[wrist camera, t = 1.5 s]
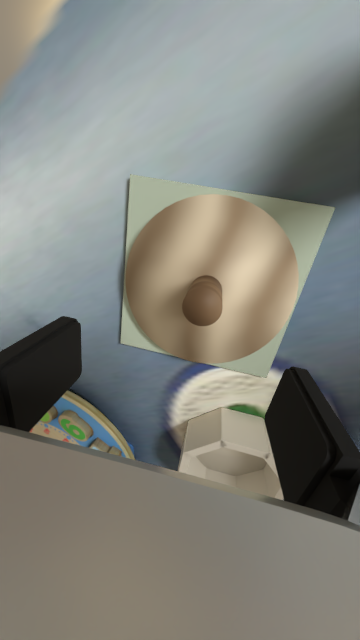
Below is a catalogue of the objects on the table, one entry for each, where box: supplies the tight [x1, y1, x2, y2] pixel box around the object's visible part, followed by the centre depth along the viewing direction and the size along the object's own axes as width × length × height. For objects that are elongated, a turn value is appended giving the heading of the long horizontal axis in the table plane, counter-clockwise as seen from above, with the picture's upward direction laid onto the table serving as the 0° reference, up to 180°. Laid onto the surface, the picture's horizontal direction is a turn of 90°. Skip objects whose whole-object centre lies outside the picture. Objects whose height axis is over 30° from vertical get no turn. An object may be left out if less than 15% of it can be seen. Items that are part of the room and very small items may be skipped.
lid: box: [125, 194, 299, 364], centre depth 20 cm, size 17×17×6 cm
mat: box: [121, 174, 335, 378], centre depth 23 cm, size 18×18×1 cm
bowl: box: [178, 407, 284, 500], centre depth 29 cm, size 13×13×5 cm
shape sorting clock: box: [30, 390, 135, 460], centre depth 36 cm, size 31×30×6 cm
